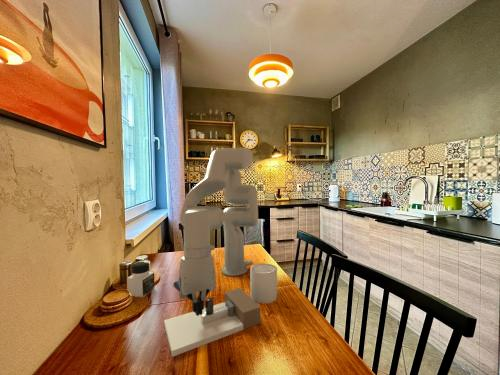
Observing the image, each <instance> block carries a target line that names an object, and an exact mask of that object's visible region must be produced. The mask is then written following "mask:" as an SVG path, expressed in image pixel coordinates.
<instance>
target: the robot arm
mask: <svg viewBox="0 0 500 375" xmlns="http://www.w3.org/2000/svg"><path fill="white" fill-rule="evenodd" d="M252 161H253V154H252V151H251V149H250V148H248V147H229V148H227V147H226V148H218V149H215V150H213V151H212V152H211V154H210V156H209V161H208V164H207V167H206V171H205V173H204V177H203V179H202V180H201V181H200V182H198V183H197V184H196V185H195V186H194V187H192V188H191V189H190V190H189V192H188V193H187V194H186V196H185V198H184V201H183V204H182V207H181V210H180V217H179V219H180V220H179V221H180V224H181V226H182V227H183V256H181V258H180V262H179V274H178V281H179V288H180V291H179V293H178V297H179V298H180V299H189V300H190V301H191V302H192V303H191V304H192V312H195V313H196V315H197V316H199V314H200V315H202V310H203V309H204V308H205V305H204V304H205V300H206V297H207V296H208V295H209V294H210V293H211V292H213V291H215V290H216V283H217V282H216V280H217V279H216V267H215V260H214V256H213V254H212V251H213V250H215V249H216V247H215V245H214V244H211V231H214V230H215V231H216V230H218V229H220V228H221V227H223V233H224V234H223V237H224V243H223V244H224V266H223V267H222V268H221V273H222V275H225V276H229V277H238V276H242V275H245V274H246V273H247V272H248V266H253V265H254V262H253V260H248V259H246V260H245V235H244V233H243V231H242V229H241V228H240V227H243V228H245V227H246V228H252V227H256V226H257V225H258V222H259V205H258V204H259V203H258V202H259V201H258V200H259V199H258V191H257V188H256V186H255V185H253V184H242V174H241V172H240V171H241V170H242V171H243V170H246V169H247V168H249V167H250V166H251V165H252V163H253V162H252ZM222 190H223V193H224V194H223V195H224V202H225V203H226V204H228V205H237V206H228V207H226V208H224V209H223V208H221V207H219V206H206V205H198V204H199V203H200V202H201V201H202V200H203V199H205V198H207V197H210V196H211V195H214V194H216V193H218V192H220V191H222ZM238 205H241V206H238ZM242 205H246V206H242ZM197 293H198V296H197Z"/></svg>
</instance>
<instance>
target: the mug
mask: <svg viewBox="0 0 500 375" xmlns="http://www.w3.org/2000/svg"><path fill="white" fill-rule="evenodd" d="M249 269H250V271H249V272H250V273H249V274H250V275H249V276H250V278H249V281H250V282H249V283H250V284H249V285H250V287H249V288H250V289H249V290H250V292H249V293H250V296H251V297H250V296H249V297H250V298H251V299H252V300H253V301H254V302H256V303H257V304H264V303H266V304H271V303H273V301H274V302H275V301H277V299H278V267H277V266H276V265H273V264H270V263H256V264H252V265H251V267H250V268H249ZM276 298H277V299H276ZM270 302H271V303H270Z"/></svg>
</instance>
